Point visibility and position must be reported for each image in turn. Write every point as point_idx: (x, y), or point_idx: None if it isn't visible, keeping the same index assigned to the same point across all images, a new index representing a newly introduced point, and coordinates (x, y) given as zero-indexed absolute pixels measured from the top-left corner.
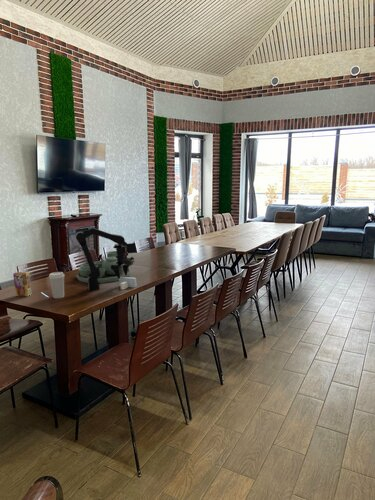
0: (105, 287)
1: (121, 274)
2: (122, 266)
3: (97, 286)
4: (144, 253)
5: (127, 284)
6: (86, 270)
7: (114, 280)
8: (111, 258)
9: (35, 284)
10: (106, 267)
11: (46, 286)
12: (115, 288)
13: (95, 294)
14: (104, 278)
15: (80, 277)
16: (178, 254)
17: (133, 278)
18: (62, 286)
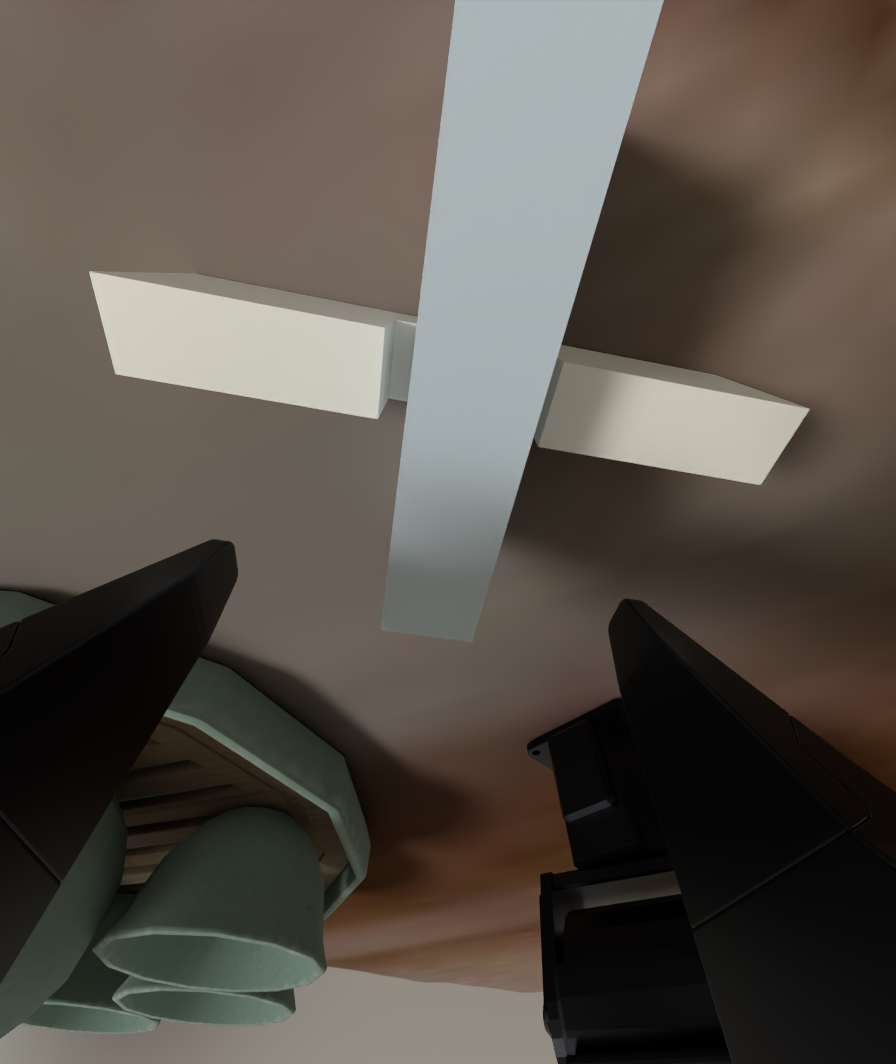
0: (526, 671)
1: None
2: (4, 972)
3: (616, 748)
4: None
5: (562, 351)
6: (272, 994)
7: (223, 675)
8: None
9: (443, 963)
10: (62, 957)
11: (484, 935)
12: (594, 543)
13: (836, 674)
14: (305, 787)
15: (331, 913)
16: None
17: (629, 33)
18: None
